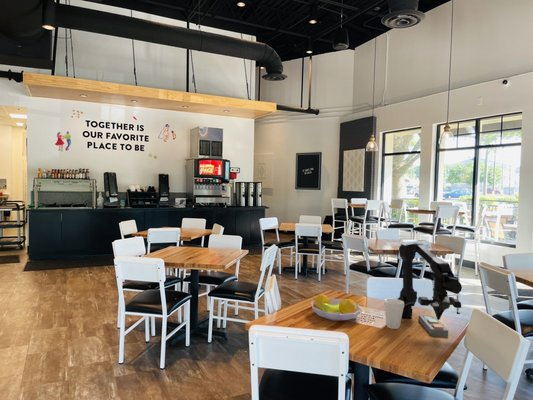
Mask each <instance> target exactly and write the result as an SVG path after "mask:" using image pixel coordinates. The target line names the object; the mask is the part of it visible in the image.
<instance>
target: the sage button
mask: <svg viewBox="0 0 533 400" xmlns="http://www.w3.org/2000/svg"><path fill="white" fill-rule="evenodd" d="M428 322H429V324H438V321H437V320H436V319H428Z"/></svg>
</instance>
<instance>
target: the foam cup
mask: <svg viewBox="0 0 533 400" xmlns="http://www.w3.org/2000/svg"><path fill="white" fill-rule="evenodd" d="M383 302H384V310H385V311H384V313H385V325H387V326H386V327H387V328H389V329H393V330H398V329H400V327H401V321H402V319H403V318H402V313H403V308H404V302H403V301H401V300H398V298H391V297H390V298H385V299H384V300H383Z"/></svg>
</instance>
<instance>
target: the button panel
mask: <svg viewBox="0 0 533 400" xmlns="http://www.w3.org/2000/svg"><path fill="white" fill-rule="evenodd" d="M423 316H426V315H421V314H419V315H418V322H419V323H420V324H421V325H422V327H423V328H424V329H425V330H426V332H427V333H428V334H429V335H430V336H437V337H449V329H448V328H446V326H445V325H444V324H443V323H442V322H441V321H440V320H437V317H436V315H428V316H429V317H432V318H433V319H436V320H437V321H438V324H441V325H442V326H443V330H442V329H434V328H433V327H432V324H429V322H428V319H425V318H424V317H423Z"/></svg>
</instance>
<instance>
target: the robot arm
mask: <svg viewBox="0 0 533 400" xmlns="http://www.w3.org/2000/svg"><path fill="white" fill-rule="evenodd" d="M398 252H399V253H398V254H399V256H400V259H401V260H402V288H401V290H400V291H399V297H398V298H397V299H398V300H401V301H403V302H404V308H403V313H402V318H401V319H411V320H413V308H412V307H415V305H416V303H417V302H418V304H419V305H421V306H425V307H428V306H431V308H432V309H433V311H434V313H435V317H436V318H437V320H439V321H440V320H441V318H442V316H443V313H444V312H445V310H448V309H449V308H450V307H451V306H453V307H454V308H455V309H456V308H457V309H461V308H462V303H461V301H460V300H458V299H456V298H455V297H454V296H449V294H448V292H450V293H452V294H456V295H457V294H460V293H461V291H462V290H463V289H462V288H463V286H462V283H461V282H460V281H459V280H460V279H459V278H455V275H454V273H453V271H452V268H451V266H450V263H448V262H446V261H445V260H443V259H441V258H438V256H436V255H435V254H434V253H432V252H431V250H429V249H428V248H427V247H426V246H424V243H422V242H414V243H410V244H409V243H407V244H401V245H400V246H399V247H398ZM416 253H417V254H418V255H419V256H420V257H422V258H423V260H425V261H426V262H427V263H428V264H429V268H430V270H431V271H432V272H433V273H432V274H431V275H430V277H431V278H433V288H432V291H433V295H432V298H431V299H429V297H426V296H419V297H418V291H417V290H416V291H415V289H414V287H413V286H414V285H413V283H414V282H413V281H414V279H413V278H414V277H413V276H414V275H413V273H414V272H413V267H414V266H413V261H414V259H415V258H416Z"/></svg>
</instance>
